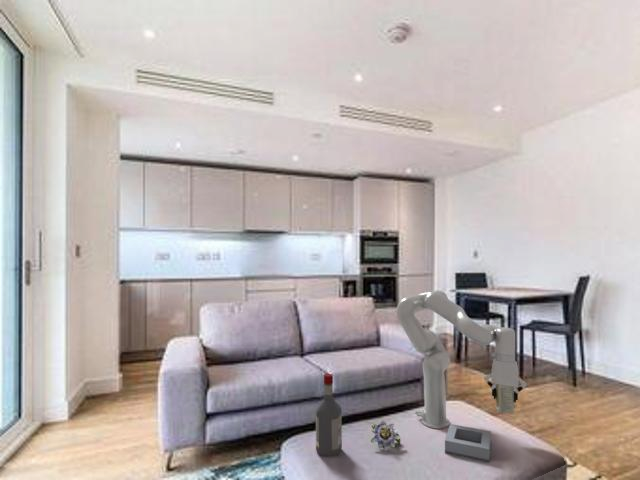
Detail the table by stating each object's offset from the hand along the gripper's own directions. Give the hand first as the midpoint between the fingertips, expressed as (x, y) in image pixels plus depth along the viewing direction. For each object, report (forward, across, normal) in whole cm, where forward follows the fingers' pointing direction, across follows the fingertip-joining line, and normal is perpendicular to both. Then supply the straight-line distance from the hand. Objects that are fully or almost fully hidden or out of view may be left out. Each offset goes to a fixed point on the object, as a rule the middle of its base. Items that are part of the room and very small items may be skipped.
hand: (504, 399), depth 162 cm
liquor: (+19, -63, -40) cm, 77 cm away
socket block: (+17, -13, -14) cm, 26 cm away
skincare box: (+5, 0, 0) cm, 5 cm away
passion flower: (+18, -44, -26) cm, 54 cm away
